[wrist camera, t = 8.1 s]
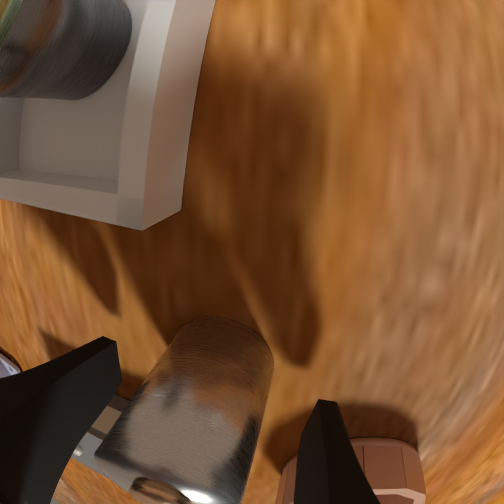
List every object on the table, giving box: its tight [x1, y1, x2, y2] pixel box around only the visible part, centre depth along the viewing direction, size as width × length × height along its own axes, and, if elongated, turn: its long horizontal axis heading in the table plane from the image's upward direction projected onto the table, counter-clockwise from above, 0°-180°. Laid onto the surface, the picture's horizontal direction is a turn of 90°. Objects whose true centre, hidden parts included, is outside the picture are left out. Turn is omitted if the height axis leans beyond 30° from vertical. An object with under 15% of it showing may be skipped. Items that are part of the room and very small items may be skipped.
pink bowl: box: [275, 437, 426, 504], centre depth 11 cm, size 8×8×3 cm
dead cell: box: [94, 317, 274, 504], centre depth 8 cm, size 4×4×6 cm
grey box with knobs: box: [71, 394, 130, 478], centre depth 13 cm, size 8×6×3 cm
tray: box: [0, 0, 215, 231], centre depth 7 cm, size 16×11×2 cm
